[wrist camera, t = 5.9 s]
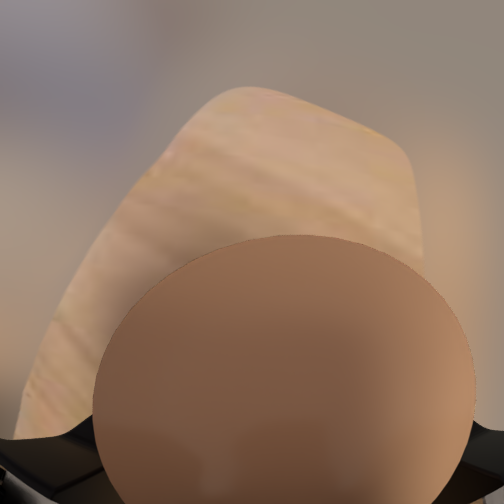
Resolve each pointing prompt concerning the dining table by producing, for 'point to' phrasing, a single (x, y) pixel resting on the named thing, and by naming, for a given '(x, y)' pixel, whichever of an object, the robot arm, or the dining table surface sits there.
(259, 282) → the tan tapered cylinder
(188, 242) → the dining table surface
